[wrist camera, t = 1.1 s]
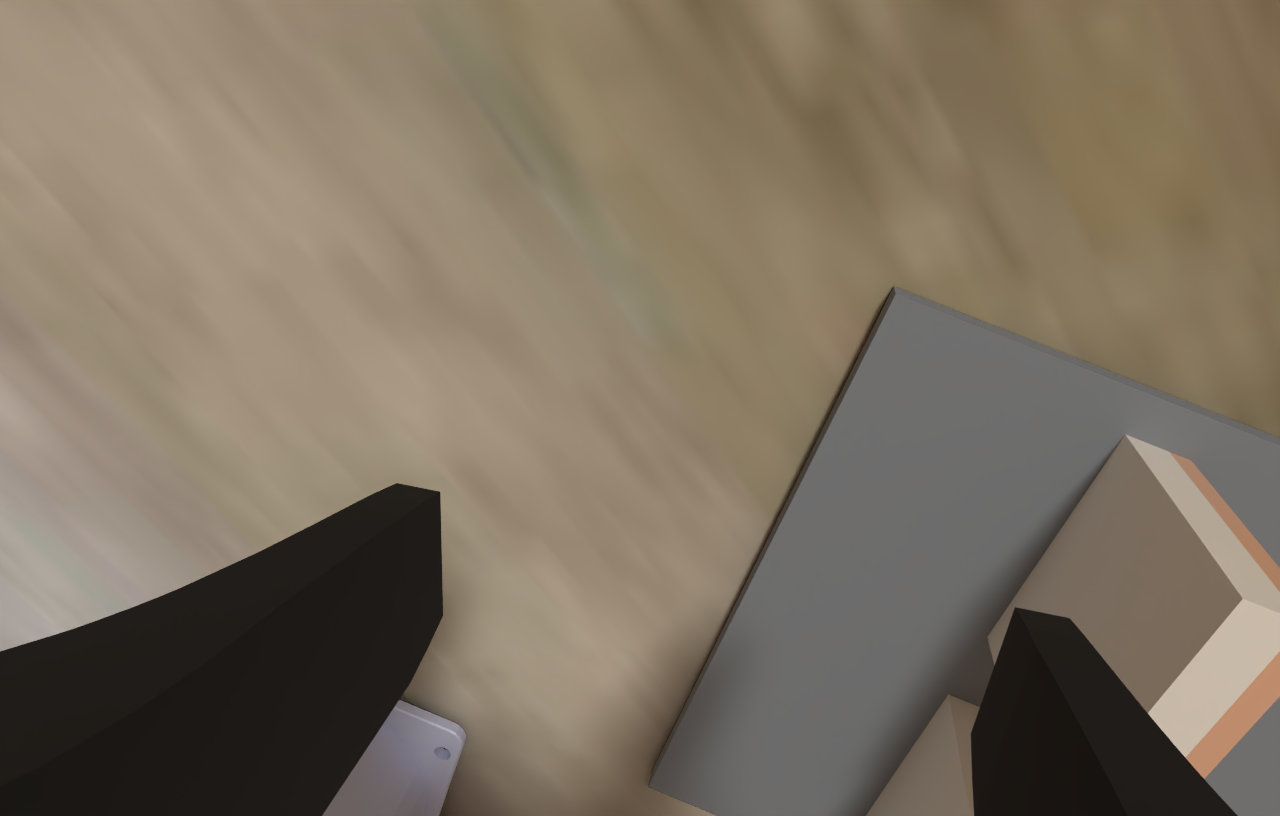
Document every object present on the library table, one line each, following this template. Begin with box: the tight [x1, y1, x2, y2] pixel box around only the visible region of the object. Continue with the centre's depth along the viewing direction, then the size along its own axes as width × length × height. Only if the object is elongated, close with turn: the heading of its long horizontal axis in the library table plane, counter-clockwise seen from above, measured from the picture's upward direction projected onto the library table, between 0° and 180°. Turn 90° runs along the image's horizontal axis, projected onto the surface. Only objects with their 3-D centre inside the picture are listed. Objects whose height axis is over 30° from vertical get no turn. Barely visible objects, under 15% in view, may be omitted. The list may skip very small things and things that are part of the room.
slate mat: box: [648, 286, 1280, 816], centre depth 22 cm, size 16×15×1 cm
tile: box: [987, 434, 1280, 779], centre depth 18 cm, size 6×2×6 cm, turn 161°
